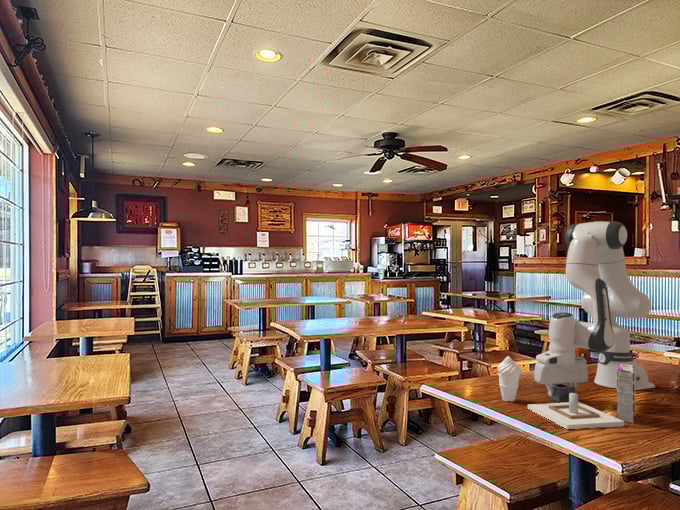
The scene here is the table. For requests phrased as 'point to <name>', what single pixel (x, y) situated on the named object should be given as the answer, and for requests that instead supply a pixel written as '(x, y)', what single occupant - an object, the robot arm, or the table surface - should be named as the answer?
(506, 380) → the soft serve ice cream cone
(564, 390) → the grey square tube
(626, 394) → the candy bar box
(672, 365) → the table surface
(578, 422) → the post board
